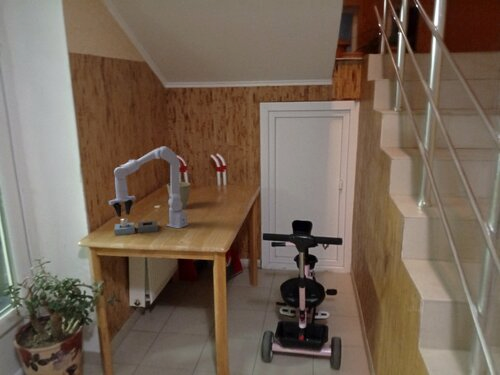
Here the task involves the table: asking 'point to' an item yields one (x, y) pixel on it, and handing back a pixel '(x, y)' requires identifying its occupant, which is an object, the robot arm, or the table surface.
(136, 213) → the table surface
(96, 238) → the table surface
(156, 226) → the charcoal stand
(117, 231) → the block
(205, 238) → the table surface
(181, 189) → the plant pot
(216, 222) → the table surface
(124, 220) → the aluminium peg
